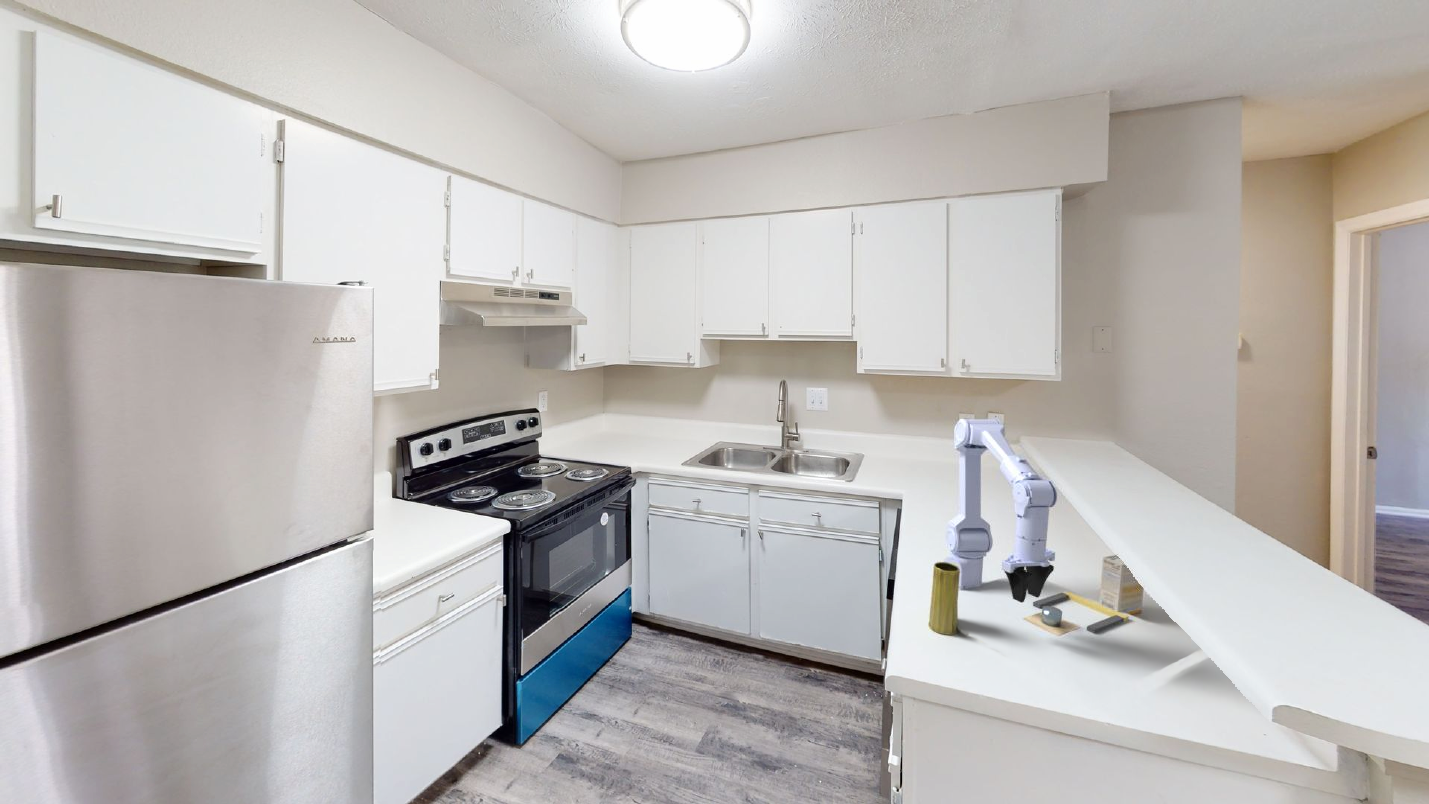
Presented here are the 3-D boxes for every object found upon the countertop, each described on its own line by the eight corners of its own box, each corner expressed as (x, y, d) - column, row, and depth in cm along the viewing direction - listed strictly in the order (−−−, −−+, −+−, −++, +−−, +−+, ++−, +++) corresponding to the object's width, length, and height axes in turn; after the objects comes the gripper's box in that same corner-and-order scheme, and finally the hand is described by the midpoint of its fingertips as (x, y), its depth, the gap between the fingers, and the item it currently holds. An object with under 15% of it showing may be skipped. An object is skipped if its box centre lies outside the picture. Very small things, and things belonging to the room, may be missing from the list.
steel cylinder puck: (1054, 628, 122) (1055, 615, 122) (1037, 620, 125) (1038, 608, 125) (1064, 624, 124) (1066, 612, 123) (1048, 617, 127) (1049, 604, 127)
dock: (1093, 640, 120) (1094, 629, 120) (1032, 611, 133) (1033, 601, 132) (1127, 626, 126) (1128, 616, 126) (1065, 600, 138) (1066, 590, 138)
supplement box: (1121, 603, 137) (1126, 552, 135) (1142, 613, 132) (1147, 559, 131) (1096, 608, 134) (1102, 556, 132) (1117, 618, 130) (1122, 564, 128)
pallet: (1057, 644, 119) (1057, 635, 119) (1021, 627, 126) (1022, 618, 126) (1079, 635, 123) (1080, 627, 123) (1044, 619, 130) (1044, 610, 130)
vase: (952, 638, 121) (956, 575, 119) (923, 628, 125) (927, 566, 123) (961, 627, 125) (965, 566, 123) (934, 618, 129) (937, 558, 127)
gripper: (1026, 548, 111) (1021, 613, 112) (1071, 536, 117) (1065, 598, 119) (994, 536, 117) (990, 598, 119) (1038, 526, 123) (1034, 585, 125)
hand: (1026, 597), depth 119 cm, fingers open, 4 cm apart
